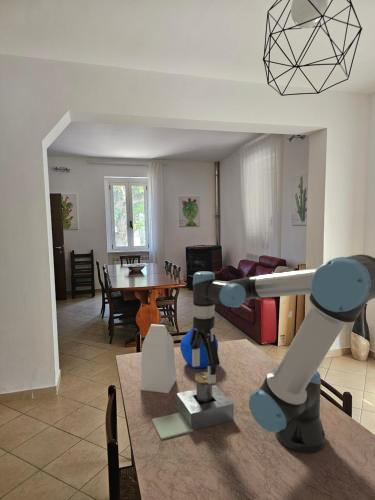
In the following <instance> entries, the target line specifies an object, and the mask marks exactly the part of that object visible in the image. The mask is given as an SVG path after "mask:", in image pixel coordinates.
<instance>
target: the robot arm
mask: <svg viewBox="0 0 375 500" xmlns="http://www.w3.org/2000/svg"><path fill="white" fill-rule="evenodd" d="M215 275H216V274H215V273H214V272H212V271H197V272H195V273H194V274H193V279H192V316H193V317H192V327H193V331H192V335H191V340H190V345H192V366H193V367H192V368H194V367H195V366H200V349H199V348H200V344H201V342H202V345H203V346H204V347H205V351H206V354H207V358H208V362H209V364H208V365H207V366H208V367H207V372H208V384H211V383H212V384H215V383H216V382H217V366H220V365H221V363H220V358H219V353H218V352H219V351H218V352H217V346H216V339H217V338H216V334H212V332H211V330H212V329H213V328H214V327H215V308H216V304H219V305H222V306H225V307H229V308H240V307H241V306H242V305H243V304H244V302H245V301H249V300H251V299H252V300H253V299H262V298H275V297H286V296H287V297H288V296H289V297H290V296H301V295H302V296H304V295H308V296H309V297H308V301H309V302H310V305H311V306H310V308H309V310H308V312H307V313H306V315H305V317H304V319H303V321H302V323H301V324H300V326H299V329H298V330H297V332H296V334H295V336H294V337H293V338H292V341H291V343H290V345H289V346H288V348H287V350H286V352H285V353H284V356H283V357H282V359H281V361H280V363H279V365H278V367H277V369H273V370H271V371H269V372H268V374H267V375H266V377H265V379H264V381H263V382H262V384H261V386H260V387H259V388H258V389H257V388H256V389H254V391H253V392H252V393H251V394H250V395H249V397H248V407H249V410H250V412H251V416H252V417H253V419H254V420H255V422H256V424H257V425H258V426H260V427H261V428H262V429H263V430H264V431H267V432H270V433H272V434H275V437H276V439H277V441H278V442H279V443H280V444H281V445H282V446H283V447H285V448H287V449H289V450H292V451H294V452H298V453H302V454H303V453H304V454H312V453H313V454H314V453H317V452H319V451H321V450H322V449H324V448H325V445H326V434H325V430H324V426H323V423H322V420H321V417H320V416H321V414H320V413H321V387H322V381H321V374H320V372H319V371H318V369H319V367H320V366H321V364H322V362H323V361H324V359H325V357H326V356H327V354H328V352H329V350H330V349H331V348H332V347H333V345H334V343H335V341H336V339H337V337H338V336H339V334H340V333H341V331H343V328H344V326H345V325H348V324H353V323H355V322H356V321H357V319H358V317H359V316H360V315H361V313H362V311H363V310H364V308H365V307H366V305H367V303H369V301H371V300H373V299H375V257H374V256H371V255H368V254H355V255H350V256H340V257H339V256H338V257H335V258H332V259H330V260H327V261H325V262H324V263H322V264H321V265H320V266H319V267H311V268H306V269H297V270H291V271H283V272H278V273H277V272H276V273H270V274H269V273H268V274H263V275H252V276H251V275H250V276H248V277H243V278H238V279H232V280H227V281H224V280H218V279H216V277H215ZM211 334H212V335H211ZM193 341H194V342H193ZM197 348H198V349H197Z"/></svg>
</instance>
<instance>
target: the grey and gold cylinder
mask: <svg viewBox="0 0 375 500" xmlns="http://www.w3.org/2000/svg"><path fill="white" fill-rule="evenodd" d="M194 380H195V382H196V384H195V385H196V387H195V389H196V400H197V402H198V404H199V405H201V404H206V403H210V402H212V386H213V383H211V384H208V371H200V372H197V373H196V374H195V375H194Z"/></svg>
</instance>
